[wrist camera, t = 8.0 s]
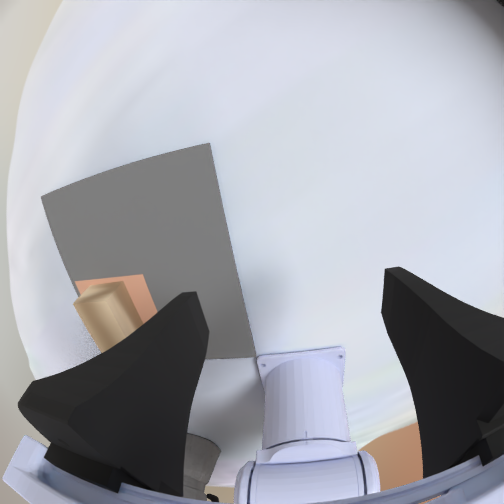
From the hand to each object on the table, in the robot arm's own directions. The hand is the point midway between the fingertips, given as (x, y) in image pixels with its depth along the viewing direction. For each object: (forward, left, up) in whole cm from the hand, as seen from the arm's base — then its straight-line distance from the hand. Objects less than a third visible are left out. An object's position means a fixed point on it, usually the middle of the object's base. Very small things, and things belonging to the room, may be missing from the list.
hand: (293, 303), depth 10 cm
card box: (-6, +16, -9) cm, 19 cm away
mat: (-3, +12, -9) cm, 16 cm away
